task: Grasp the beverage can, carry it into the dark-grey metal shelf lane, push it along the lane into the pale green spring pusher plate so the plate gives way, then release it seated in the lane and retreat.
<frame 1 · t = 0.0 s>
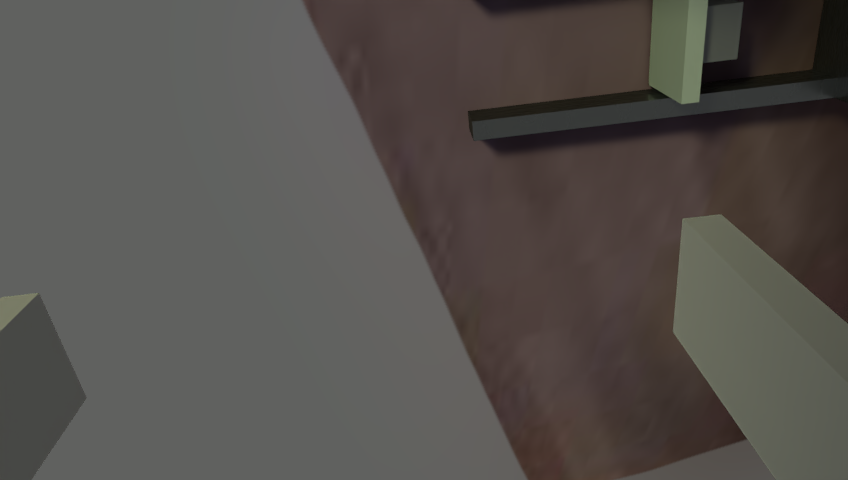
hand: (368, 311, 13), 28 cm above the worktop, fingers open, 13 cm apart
lane: (642, 29, 38), on the worktop
pusher: (697, 31, 35), point 3 cm above the worktop, slide at 0.0 cm
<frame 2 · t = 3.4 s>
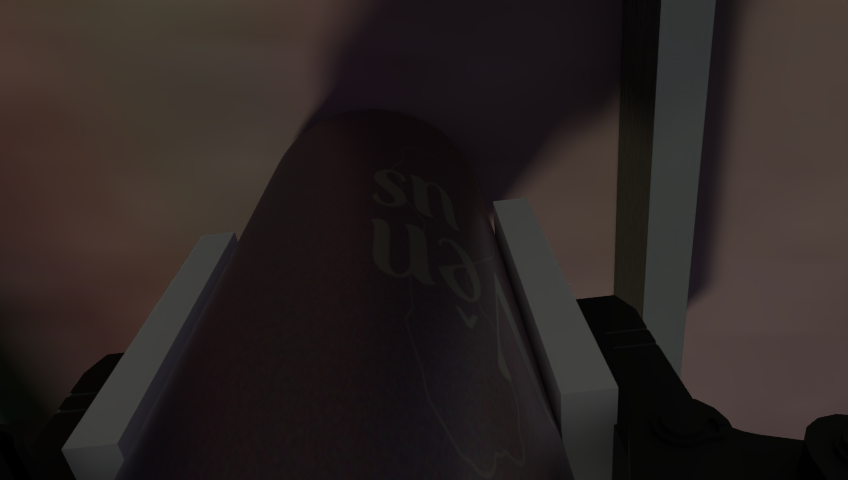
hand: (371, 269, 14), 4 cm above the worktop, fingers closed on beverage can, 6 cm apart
beverage can: (376, 201, 18), on the worktop, touching gripper
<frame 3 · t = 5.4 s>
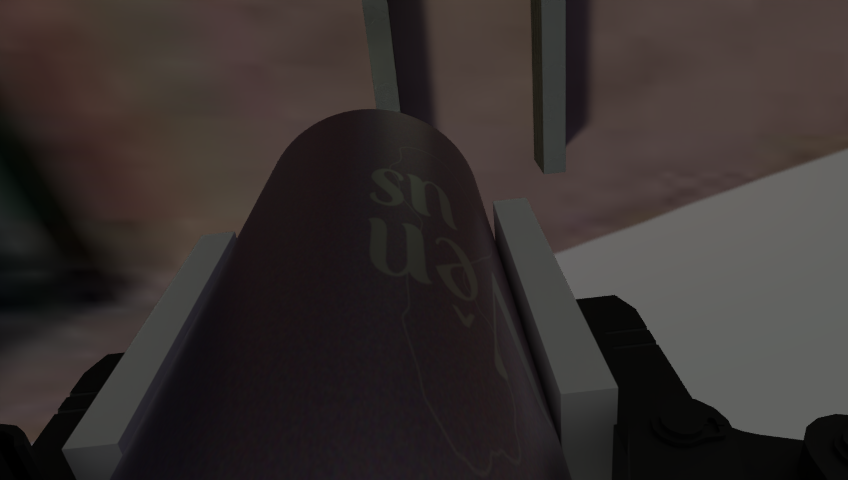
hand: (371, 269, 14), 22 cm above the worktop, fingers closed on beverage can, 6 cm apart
beverage can: (375, 201, 18), point 18 cm above the worktop, touching gripper
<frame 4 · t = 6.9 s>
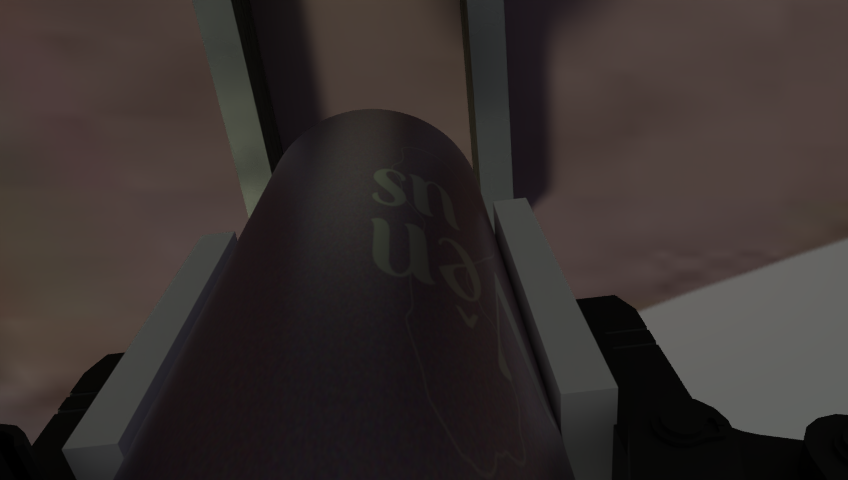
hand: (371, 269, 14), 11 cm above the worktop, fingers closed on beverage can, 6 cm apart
beverage can: (376, 201, 18), point 7 cm above the worktop, touching gripper
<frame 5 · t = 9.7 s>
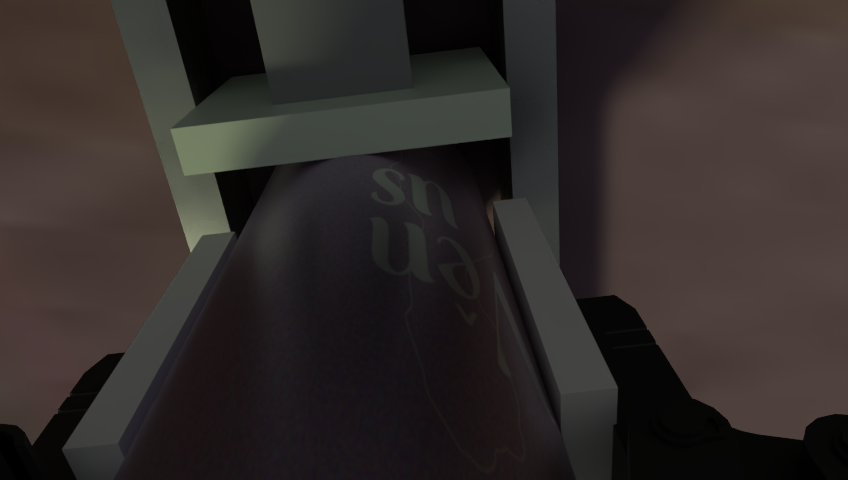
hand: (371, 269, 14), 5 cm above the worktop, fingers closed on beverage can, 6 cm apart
beverage can: (375, 201, 18), point 1 cm above the worktop, touching gripper
lane: (385, 248, 19), on the worktop
pusher: (343, 51, 14), point 3 cm above the worktop, slide at 4.3 cm
when the fingers open (5 cm above the worktop, at t = 10.6 s): beverage can stays where it is, resting in lane.
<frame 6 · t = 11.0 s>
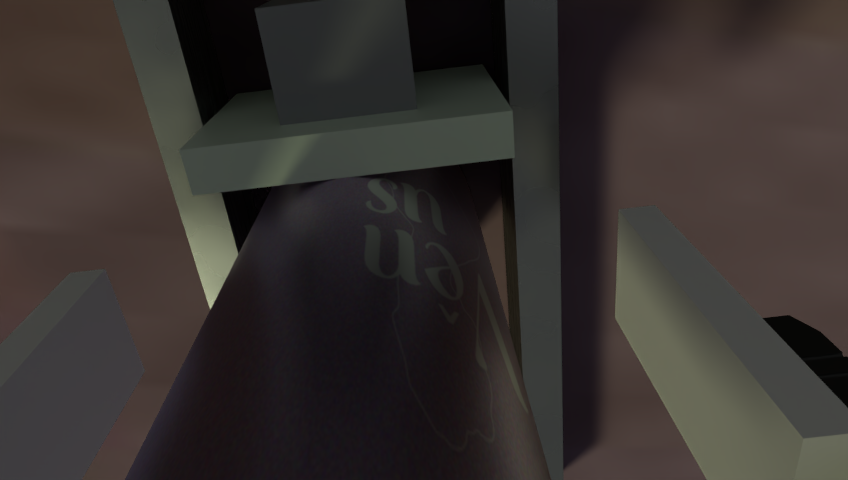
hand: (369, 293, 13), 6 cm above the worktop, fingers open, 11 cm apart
beverage can: (373, 206, 19), resting in lane
lane: (386, 252, 20), on the worktop
pusher: (348, 71, 14), point 3 cm above the worktop, slide at 4.0 cm
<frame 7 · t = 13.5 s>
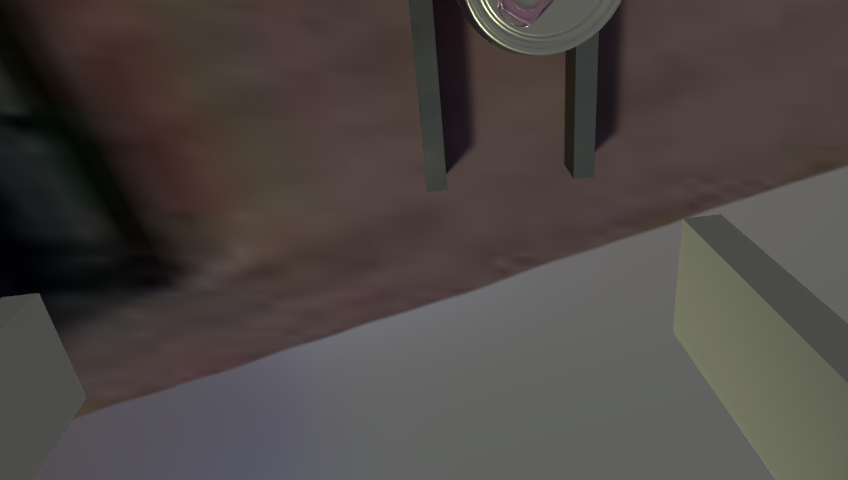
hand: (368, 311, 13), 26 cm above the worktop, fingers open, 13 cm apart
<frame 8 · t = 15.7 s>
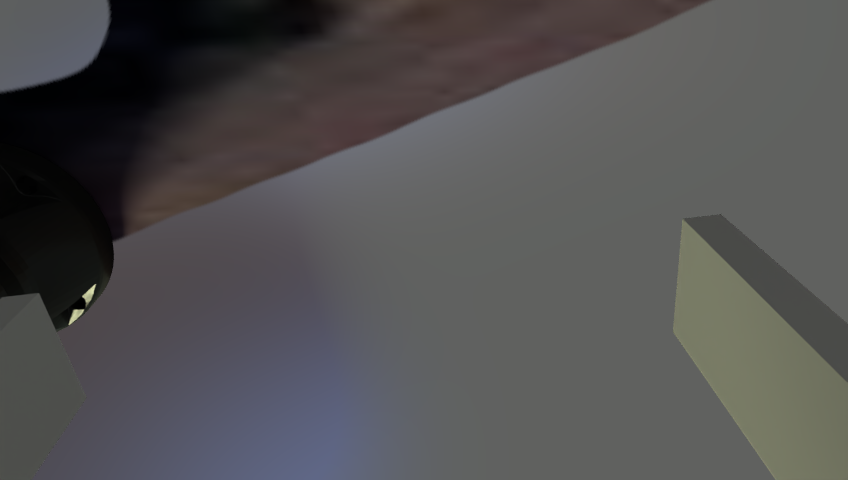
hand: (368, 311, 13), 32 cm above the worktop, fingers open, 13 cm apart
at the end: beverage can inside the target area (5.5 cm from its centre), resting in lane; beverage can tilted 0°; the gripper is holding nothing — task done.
